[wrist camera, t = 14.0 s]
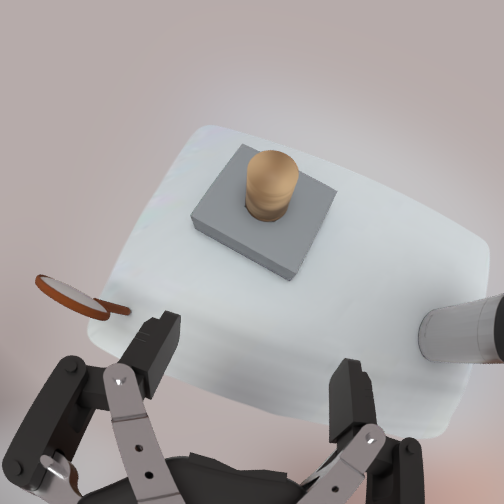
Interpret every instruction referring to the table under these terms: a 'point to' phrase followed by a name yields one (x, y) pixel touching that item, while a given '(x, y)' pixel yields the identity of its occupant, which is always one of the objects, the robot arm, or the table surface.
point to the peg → (270, 185)
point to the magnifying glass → (78, 299)
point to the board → (258, 232)
